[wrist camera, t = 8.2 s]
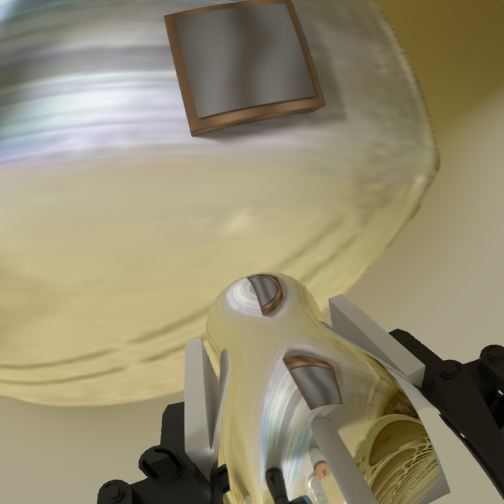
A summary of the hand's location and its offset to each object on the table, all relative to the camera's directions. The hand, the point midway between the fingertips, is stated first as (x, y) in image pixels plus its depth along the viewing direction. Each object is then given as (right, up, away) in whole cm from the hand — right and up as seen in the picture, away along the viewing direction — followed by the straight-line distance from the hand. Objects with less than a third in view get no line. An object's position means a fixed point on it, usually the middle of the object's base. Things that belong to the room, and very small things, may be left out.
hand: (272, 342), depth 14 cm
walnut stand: (-2, +25, +15) cm, 29 cm away
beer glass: (0, 0, +2) cm, 2 cm away
